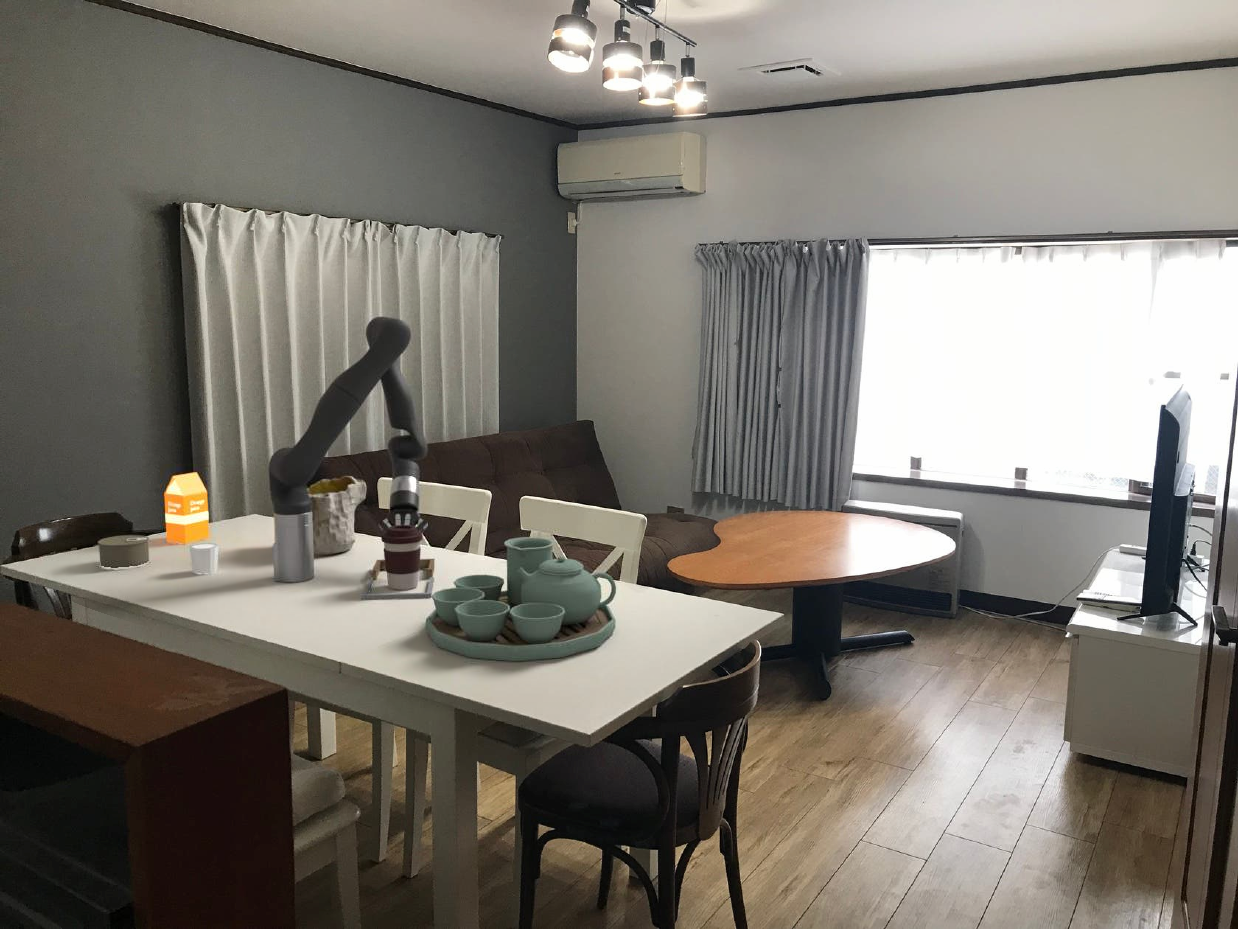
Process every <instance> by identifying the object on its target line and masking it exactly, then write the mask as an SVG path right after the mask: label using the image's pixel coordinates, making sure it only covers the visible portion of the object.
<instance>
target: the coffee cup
mask: <svg viewBox="0 0 1238 929" xmlns="http://www.w3.org/2000/svg"><path fill="white" fill-rule="evenodd" d="M416 527H417V526H411V525H396V526H391V525H390V526H389V528H388V529H387V532H384V533H383V532H382V533H381V535H380V536H381V538H380V539H381V542H382V543H383V545H384V546H383V547H384V548H383V557H384V560H385V569H386V570H385V572H386V580H387V587H388V588H389V589H390V590H394V589H396V591H406V590H411V589H412V590H413V589H416V588H417V586H418V585H419V571H420V570H421V569H420V559H421V550H422V549H421V541H422V540H423V538H424V537H423V533H422V532H420V531H417V529H416Z"/></svg>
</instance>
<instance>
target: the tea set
mask: <svg viewBox="0 0 1238 929" xmlns="http://www.w3.org/2000/svg"><path fill="white" fill-rule="evenodd" d="M555 544H556V542H555V541H554V540H552V539H549V538H545V537H536V536H535V537H533V536H528V537H527V536H526V537H525V536H523V537H515V538H509V539H507V540H506V541H504V546H505V547H506V589H504V590H502V589H503V586H504V585H505V579H504V578H503V577H501V576H498V575H492V574H491V575H490V574H471V575H464V576H460V577H458V578H456V579H455V580H454V581H453V584H454V586H455V587H452V588H451V587H449V588H443V589H441V590H438V591H435V592H434V593H432V595H431V599H432V600H433V604H434V607H435V609H434V610H433V611H432V612H431V613H430V614H429V615H428V616H427V617H426V618H425V628H426V630H427V632H428V634H429V635H430V637H431V638H432V640H433V641H434V643H435V644H436V645H437V647H438V648H441V649H445V650H446V651H450V652H453V653H456V654H458V655H461V656H465V657H468V658H471V659H472V658H473V659H485V660H494V661H495V660H496V661H508V662H523V661H526V662H527V661H535V660H536V661H537V660H549V659H560V658H562V659H563V658H565V657H568V656H569V657H570V656H572V655H575V654H578V653H582V652H584V651H589V650H591V649H595V648H598V647H600V645H602V644H603V643H604V642H605V641H606V640H607V639H608V638H609V637H610V636H612V635H613V634H614V632H615V629H616V622H617V621H616V619H615V616H614V614H613V612H612V611H611V608H610V606H609V604H610V603H611V602H612V601H613V600H614V598H615V597H616V595H617V594H616V593H617V585H616V582H615V580H614V579H613V578H612V576H611V575H609V574H608V573H606V572H601V571H600V572H597V573H594V574H591V573H590V572H589V571H587V570H585V569H584V564H582V563H581V562H580V561H578V560H575V559H571V558H566V557H565V556H558V557H557V558H553V546H554V545H555ZM599 578H603V579H606V580H607V581H608V582H609V583H610V586H611V589H610V590H611V591H610V593H609V596H608V597H607V598H606V599H605V600H603V601H601V600H602V586H601V583H600V582H599V580H598V579H599Z"/></svg>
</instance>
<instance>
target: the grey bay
mask: <svg viewBox="0 0 1238 929" xmlns="http://www.w3.org/2000/svg"><path fill="white" fill-rule="evenodd" d="M433 583H435V577H434V576H433V577H430V579H428V585H427V591H426V592H402V593H401V592H399V593H396V592H394V593H393V592H392V593H370V592H371V590H370V589H372V587H371V586H373V585H374V580H373V579H372V578H369V579H368V581H367V583H366V585H365V588H364V590H363V592H362V594H361V600H388V599H389V600H392V599H393V598H398V599H397V600H399V598H401V599H432V597H431V596H432V595H433V588H434V584H433ZM372 584H373V585H372ZM369 591H370V592H369Z"/></svg>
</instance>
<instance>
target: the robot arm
mask: <svg viewBox="0 0 1238 929" xmlns="http://www.w3.org/2000/svg"><path fill="white" fill-rule="evenodd" d="M411 336H412V332H411V328H410V326H409V325H408V323H407V322H405V321H404V320H402V319H399V318H396V317H395V318H394V317H388V316H376V317H373V318H372V319H371V320H370V321H369V322H368V324H367V326H366V329H365V338H366V341H367V345H368V350H367V351H366V352H365V354H364V355H363V356H362V357H361V358H360V359H359V360H358V361H356V362H355V363H354V364H352V365H350V367H348V368H347V369H346V370H344V371H343V372H341V373H340V374H339V375H338V376H337V377H336V378H335V379H334V380H333V381H332V382H331V383H330V385H329V386H328V387H327V389H326V390H325V391H324V392H323V394H322V395H321V397H320V398H319V400H318V403H317V405H316V407H315V410H314V412H313V415H312V418H311V421H310V424H309V426H308V428H307V429H306V431H305V432H304V434H303V435H302V436H301V438H300V439H299V440H298V441H297V442H296V443H295V445H294V446H293V447H282V448H279V449H278V450H276V451H275V452H274V453H272V455H271V457H270V460H269V463H268V479H269V481H268V482H269V491H270V492H269V493H270V494H269V495H270V500H271V503H272V508H273V524H274V525H273V526H274V542H273V543H272V554H273V577H274V578H273V581H274V582H283V583H299V582H306V581H309V580H312V579H314V578H315V562H314V561H315V558H314V557H315V556H314V549H313V520H312V501H311V499H310V497H309V495H308V492H307V488H308V485H307V483H309V482H310V480H312V479H313V477H314V475H315V474H316V472H317V471H318V469H319V467H320V465H321V464H322V462H323V460H324V458H325V456H327V453H328V452H329V450H330V448H331V447H332V445H333V444H334V442H336V440H337V439H338V438H339V436H340V435H341V434H342V432H343V430H345V428H346V427H347V425H348V424H349V423H350V422H351V420H352V419H353V418H354V416H355V415H356V414H357V412H358V411H359V409H361V407H362V405H363V404H364V402H365V401H366V399H367V398H368V396H369V395H370V394H371V392H373V389H374V388H375V387H376V386H377V384H378V383H379V382H380V383H381V387H382V390H383V394H384V399H385V404H386V411H387V417H388V420H389V421H388V422H389V424H390V427H391V428H392V429H394V430H401V431H405V432H407V433H408V434H403V435H395V436H392V437H391V438H390V439H389V441H388V442H387V451H388V455H389V457H390V461H391V467H392V480H391V486H390V494H389V495H390V496H389V510H388V514H387V516H386V518H385V519H380V520H378V528H379V529H380V531H381V532H382V534H383V533H384V532H387V529H388V528H389V527H391V526H396V525H411V526H415V527H416V529H417V531H420V532H422V534H423V533H424V532H425V531H426V530H427V529H428V527H429V526H428V524H429V523H428V520H427V519H422V518H421V514H420V512H419V510H420V496H421V495H420V494H421V493H420V466H419V465H418V463H416V462H415V461H416V460H422V459H424V458H425V457H426V456H427V455H428V454H427V453H428V450H429V446H428V442H427V440H426V437H425V435H424V434H423V432H422V430H421V428H420V425H419V423H418V421H417V418H416V412H415V407H414V402H413V401H414V400H413V396H412V394H411V391H410V389H409V386H408V383H407V381H406V380H405V377H404V375H403V373H402V370H401V368H400V365H399V362H398V358H400V356H401V355H402V354H403V353H404V352H405V351H406V349H407V348H408V346H409V344H410V342H411V339H412V337H411ZM389 525H390V526H389Z"/></svg>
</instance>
